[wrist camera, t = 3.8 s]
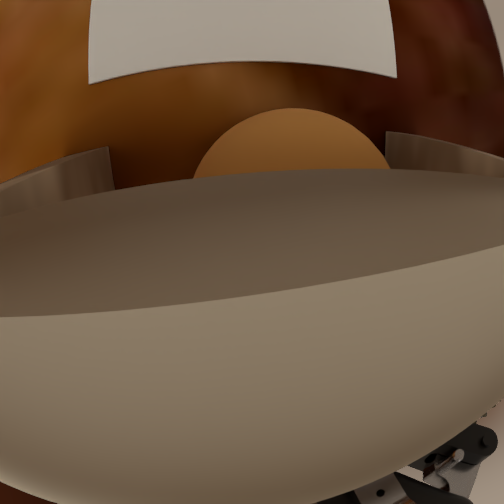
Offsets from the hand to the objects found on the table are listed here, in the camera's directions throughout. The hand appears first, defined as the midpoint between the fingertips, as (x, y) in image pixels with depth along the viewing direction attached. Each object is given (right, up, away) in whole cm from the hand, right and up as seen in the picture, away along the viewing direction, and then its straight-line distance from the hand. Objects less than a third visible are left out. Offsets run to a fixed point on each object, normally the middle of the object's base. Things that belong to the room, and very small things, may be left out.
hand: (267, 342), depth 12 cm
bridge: (0, +7, -2) cm, 8 cm away
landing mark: (-1, +16, -7) cm, 17 cm away
